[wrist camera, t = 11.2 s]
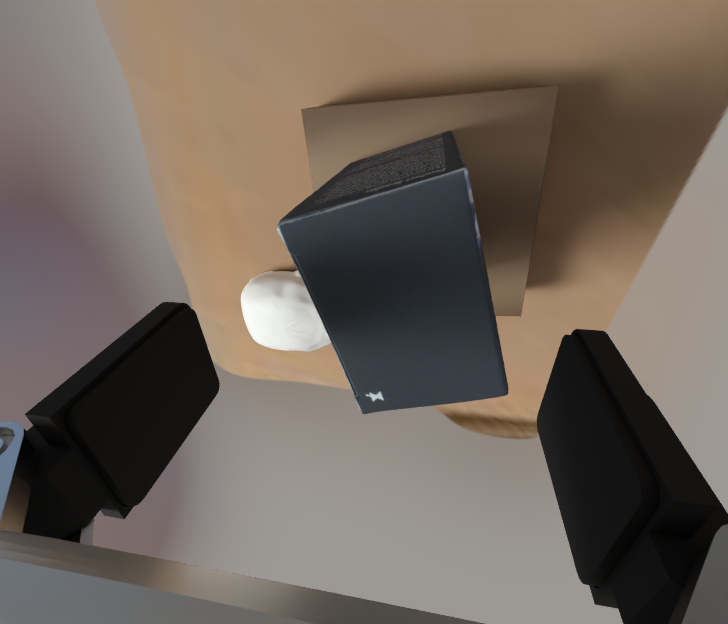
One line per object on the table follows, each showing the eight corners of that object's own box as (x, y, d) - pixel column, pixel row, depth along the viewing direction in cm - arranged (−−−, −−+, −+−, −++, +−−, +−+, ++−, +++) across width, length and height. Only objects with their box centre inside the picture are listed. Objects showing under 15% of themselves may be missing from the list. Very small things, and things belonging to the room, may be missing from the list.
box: (480, 269, 21) (512, 401, 12) (387, 289, 23) (356, 417, 14) (453, 125, 17) (470, 164, 9) (345, 161, 19) (267, 225, 10)
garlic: (345, 262, 26) (333, 285, 23) (355, 338, 30) (345, 367, 27) (245, 263, 28) (220, 285, 25) (265, 335, 31) (245, 363, 28)
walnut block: (322, 105, 22) (301, 109, 18) (538, 85, 19) (558, 85, 16) (344, 285, 28) (331, 312, 24) (510, 286, 25) (520, 316, 22)
